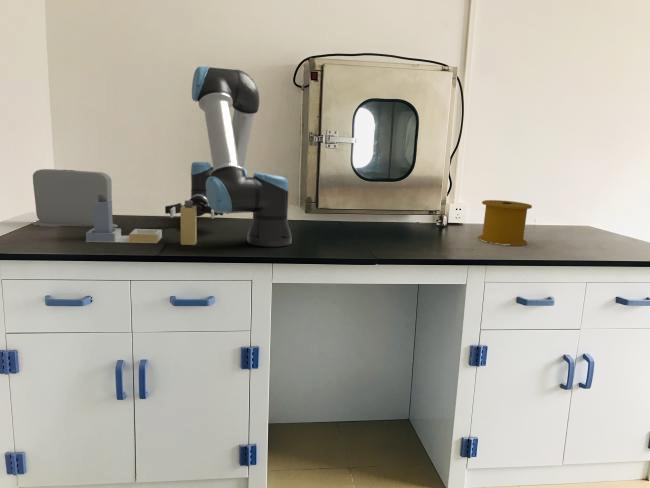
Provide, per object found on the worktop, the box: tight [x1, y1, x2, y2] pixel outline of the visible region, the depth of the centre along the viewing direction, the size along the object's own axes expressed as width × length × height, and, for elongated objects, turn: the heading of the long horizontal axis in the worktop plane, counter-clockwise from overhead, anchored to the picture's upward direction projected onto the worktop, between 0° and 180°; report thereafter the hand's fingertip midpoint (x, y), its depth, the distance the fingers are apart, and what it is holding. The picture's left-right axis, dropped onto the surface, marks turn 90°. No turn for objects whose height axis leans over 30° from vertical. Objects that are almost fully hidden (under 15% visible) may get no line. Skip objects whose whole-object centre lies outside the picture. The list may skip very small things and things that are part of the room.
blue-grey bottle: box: [93, 195, 114, 233], centre depth 167 cm, size 4×4×14 cm
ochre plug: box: [180, 199, 198, 246], centre depth 171 cm, size 4×4×14 cm
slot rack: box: [85, 227, 163, 244], centre depth 169 cm, size 22×10×4 cm, turn 98°
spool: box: [477, 199, 533, 245], centre depth 201 cm, size 18×18×15 cm
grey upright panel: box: [31, 168, 119, 228], centre depth 189 cm, size 31×10×20 cm, turn 84°
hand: (191, 214), depth 180 cm, fingers open, 13 cm apart
